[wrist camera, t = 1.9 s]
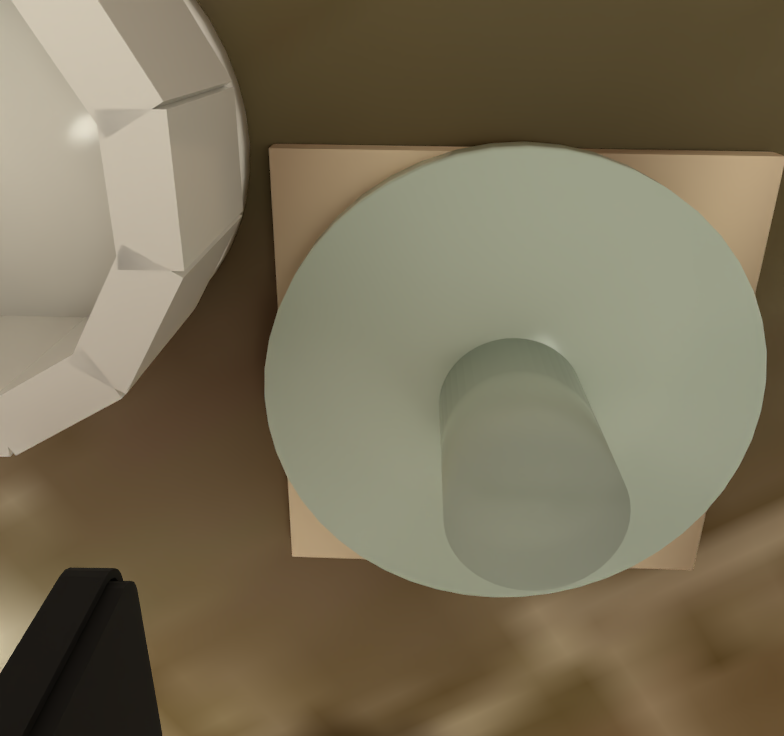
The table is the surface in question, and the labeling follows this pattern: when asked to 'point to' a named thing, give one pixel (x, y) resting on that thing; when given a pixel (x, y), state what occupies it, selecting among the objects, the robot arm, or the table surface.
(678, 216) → the lid
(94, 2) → the bowl
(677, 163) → the mat
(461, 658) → the table surface
